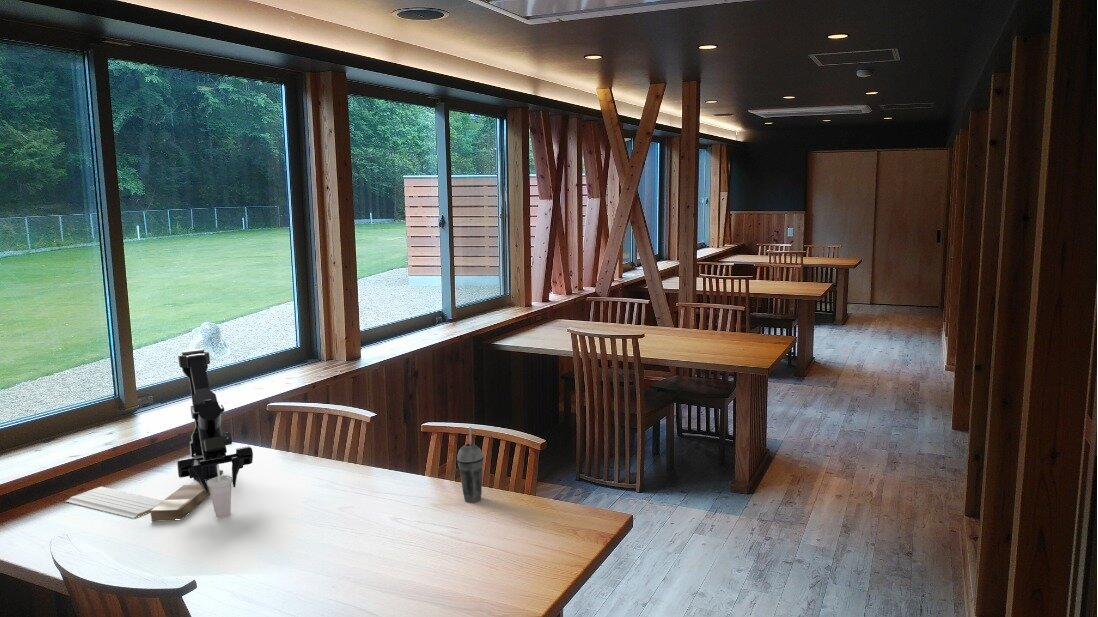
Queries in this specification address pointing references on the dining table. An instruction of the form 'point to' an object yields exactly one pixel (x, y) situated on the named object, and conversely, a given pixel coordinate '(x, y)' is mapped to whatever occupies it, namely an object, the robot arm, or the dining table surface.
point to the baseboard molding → (115, 502)
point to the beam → (179, 503)
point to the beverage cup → (471, 471)
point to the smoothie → (220, 493)
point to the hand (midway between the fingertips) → (220, 489)
